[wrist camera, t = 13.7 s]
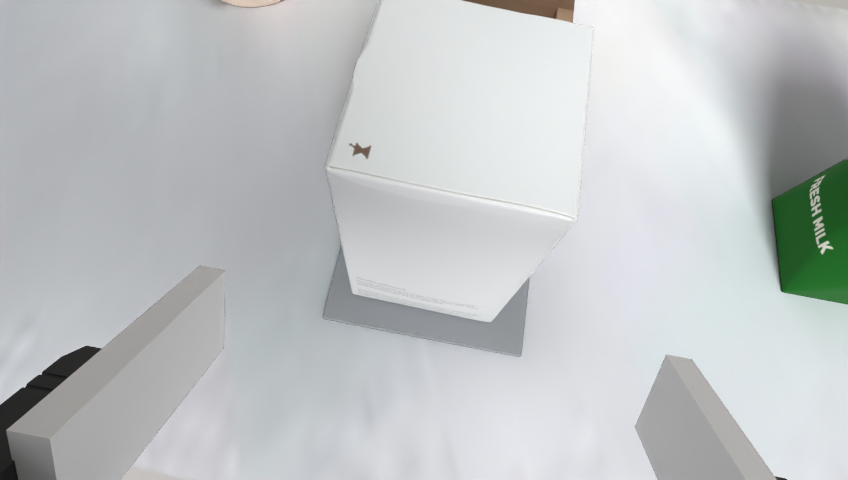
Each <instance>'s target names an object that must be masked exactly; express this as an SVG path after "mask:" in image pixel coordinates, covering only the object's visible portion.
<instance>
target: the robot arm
mask: <svg viewBox="0 0 848 480" xmlns="http://www.w3.org/2000/svg"><path fill="white" fill-rule="evenodd" d="M224 313H225V270H219V269H214V268H209V267H204V266H199V267H198V268H197V269H195V270H194V271H193V272H192V273H191V274H189V275H188V276H187V277H186V278H185V279H184V280H182V281H181V282H180V283H179V284H178V285H177V286H175V287H174V288H173V289H172V290H171V291H169V292H168V293H167V294H166V295H165V296H164V297H162V298H161V299H160V300H159V301H158V302H157V303H155V304H154V305H153V306H152V307H151V308H149V309H148V310H147V311H146V312H145V313H144V314H142V315H141V316H140V317H139V318H138V319H137V320H135V321H134V322H133V323H132V324H131V325H129V326H128V327H127V328H126V329H125V330H124V331H122V332H121V333H120V334H119V335H118V336H116V337H115V338H114V339H113V340H112V341H111V342H109V343H108V344H107V345H106V346H105V347H104V348H102V349H101V348H96V347H90V346H85V347H82V348H80V349H78V350H76V351H74V352H71V353H69V354H67V355H65V356H62V357H61V358H60V359H58V360H57V361H56V362H54V363H53V364H52V365H51V366H49V367H48V368H47V369H46V370H44V371H43V372H42V375H38V376H37V377H35V378H34V379H33V380H32V381H30V382H29V383H28V384H27V386H26V387H25V388H21V389H20V390H19V391H17V392H16V393H15V394H14V395H12V396H11V397H10V398H9V399H7V400H6V401H5V402H3V403H2V404H1V405H0V480H121V479H122V477H123V476H124V475H125V473H126V472H127V471H128V470H129V468H130V467H131V466H132V465H133V463H134V462H135V461H136V459H137V458H138V457H139V456H140V454H141V453H142V452H143V451H144V449H145V448H146V447H147V445H148V444H149V443H150V442H151V440H152V439H153V438H154V437H155V435H156V434H157V433H158V431H159V430H160V429H161V428H162V426H163V425H164V424H165V423H166V421H167V420H168V419H169V417H170V416H171V415H172V414H173V412H174V411H175V410H176V408H177V407H178V406H179V405H180V403H181V402H182V401H183V400H184V398H185V397H186V396H187V394H188V393H189V392H190V391H191V389H192V388H193V387H194V386H195V384H196V383H197V382H198V380H199V379H200V378H201V377H202V375H203V374H204V373H205V372H206V370H207V369H208V368H209V366H210V365H211V364H212V363H213V361H214V360H215V359H216V358H217V356H218V355H219V354H220V352H221V351H222V350H223V349H224ZM635 429H636V431H637V433H638V435H639V438H640V440H641V442H642V445H643V447H644V449H645V452H646V454H647V456H648V458H649V461H650V463H651V465H652V468H653V470H654V472H655V474H656V477H657V479H658V480H787V479H785V478H780V477H775V476H774V475H773V473H772V472H771V471H770V469H769V468H768V466H767V465H766V464H765V462H764V461H763V459H762V458H761V456H760V455H759V454H758V452H757V451H756V449H755V448H754V447H753V445H752V444H751V442H750V441H749V440H748V438H747V437H746V435H745V434H744V432H743V431H742V430H741V428H740V427H739V425H738V424H737V423H736V421H735V420H734V418H733V417H732V415H731V414H730V413H729V411H728V410H727V408H726V407H725V406H724V404H723V403H722V401H721V400H720V398H719V397H718V396H717V394H716V393H715V391H714V390H713V389H712V387H711V386H710V384H709V383H708V381H707V380H706V379H705V377H704V376H703V374H702V373H701V372H700V370H699V369H698V367H697V366H696V364H695V363H694V362H693V360H692V359H687V358H681V357H676V356H671V355H666V356H665V358H664V361H663V363H662V365H661V368H660V370H659V372H658V374H657V377H656V379H655V381H654V384H653V386H652V388H651V391H650V393H649V395H648V398H647V400H646V402H645V404H644V407H643V409H642V411H641V414H640V416H639V418H638V421H637V423H636V425H635Z"/></svg>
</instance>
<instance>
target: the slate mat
mask: <svg viewBox="0 0 848 480" xmlns="http://www.w3.org/2000/svg"><path fill="white" fill-rule="evenodd" d="M529 277H530V276H529ZM528 287H529V278H528V279H527V280H526V281H525V282H524V284H523V285H522V286H521V287H520V288H519V290H518V291H517V292H516V293H515V294H514V295H513V297H512V298H511V299H510V300H509V301H508V303H507V304H506V305H505V306H504V307H503V309H502V310H501V311H500V312H499V313H498V315H497V316H496V317H495V318H494V319H493V321H492V322H484V321H478V320H473V319H467V318H463V317H458V316H454V315H449V314H444V313H440V312H435V311H430V310H426V309H421V308H416V307H411V306H407V305H402V304H397V303H393V302H388V301H383V300H379V299H374V298H369V297H364V296H360V295H355V294H353V293H352V290H351V286H350V281H349V276H348V272H347V267H346V263H345V258H344V253H343V248H342V245H341V249H340V253H339V257H338V260H337V264H336V268H335V272H334V275H333V279H332V283H331V287H330V291H329V294H328V298H327V302H326V306H325V309H324V313H323V318H324V319H327V320H332V321H337V322H342V323H347V324H352V325H358V326H363V327H368V328H373V329H378V330H383V331H388V332H393V333H399V334H404V335H409V336H414V337H419V338H424V339H429V340H435V341H440V342H445V343H450V344H455V345H460V346H465V347H471V348H476V349H481V350H486V351H491V352H496V353H501V354H507V355H512V356H517V357H520V356H521V354H522V345H523V335H524V325H525V316H526V306H527V296H528Z"/></svg>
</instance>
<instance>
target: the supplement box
mask: <svg viewBox="0 0 848 480" xmlns="http://www.w3.org/2000/svg"><path fill="white" fill-rule="evenodd" d="M593 33H594V29H593V27H590V26H583V25H579V24H575V23H571V22H567V21H563V20H558V19H553V18H547V17H542V16H537V15H530V14H524V13H519V12H514V11H510V10H505V9H500V8H495V7H490V6H485V5H481V4H476V3H472V2H467V1H463V0H378V3H377V6H376V9H375V12H374V15H373V18H372V21H371V25H370V28H369V31H368V34H367V37H366V40H365V43H364V46H363V49H362V52H361V54H360V56H359V58H358V60H357V63H356V66H355V68H354V73H353V80H352V83H351V86H350V89H349V92H348V95H347V98H346V101H345V105H344V108H343V111H342V114H341V117H340V120H339V123H338V126H337V129H336V132H335V135H334V138H333V141H332V144H331V147H330V151H329V154H328V157H327V160H326V164H325V169H326V173H327V178H328V183H329V187H330V192H331V197H332V202H333V206H334V211H335V216H336V220H337V225H338V230H339V235H340V239H341V244H342V248H343V253H344V258H345V263H346V267H347V272H348V276H349V281H350V286H351V290H352V293H353V294H355V295H360V296H364V297H369V298H374V299H379V300H383V301H388V302H393V303H397V304H402V305H407V306H411V307H416V308H421V309H426V310H430V311H435V312H440V313H444V314H449V315H454V316H458V317H463V318H467V319H473V320H478V321H484V322H492V321H493V319H494V318H495V317H496V316H497V315H498V313H499V312H500V311H501V310H502V309H503V307H504V306H505V305H506V304H507V303H508V301H509V300H510V299H511V298H512V297H513V295H514V294H515V293H516V292H517V291H518V290H519V288H520V287H521V286H522V285H523V284H524V282H525V281H526V280H527V279H528V278H529V276H530V275H531V274H532V273H533V272H534V270H535V269H536V268H537V267H538V266H539V265H540V263H541V262H542V261H543V260H544V259H545V257H546V256H547V255H548V254H549V253H550V251H551V250H552V249H553V248H554V247H555V246H556V244H557V243H558V242H559V241H560V240H561V238H562V237H563V236H564V235H565V233H566V232H567V231H568V230H569V229H570V227H571V226H572V225H573V224H574V223H575V222H576V221H577V219H578V211H579V200H580V189H581V177H582V165H583V153H584V142H585V130H586V119H587V107H588V96H589V85H590V72H591V60H592V46H593Z"/></svg>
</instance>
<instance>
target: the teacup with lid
mask: <svg viewBox="0 0 848 480" xmlns="http://www.w3.org/2000/svg"><path fill="white" fill-rule="evenodd" d="M221 1H223V2H225V3H228V4H231V5H235V6H240V7H262V6H268V5H271V4H275V3H277V2H280V1H282V0H221Z"/></svg>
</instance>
